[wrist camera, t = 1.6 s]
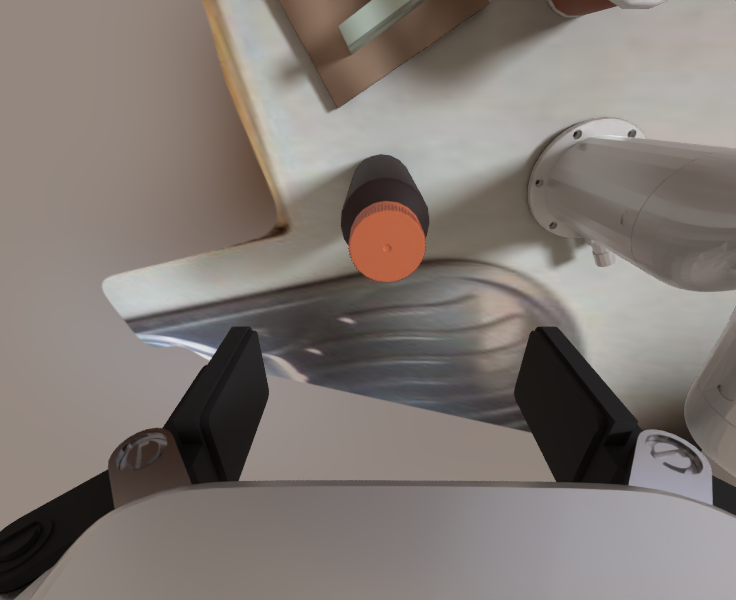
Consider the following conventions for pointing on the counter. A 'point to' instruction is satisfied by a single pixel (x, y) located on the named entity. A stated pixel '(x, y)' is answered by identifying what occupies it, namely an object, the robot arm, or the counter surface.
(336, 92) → the u rest
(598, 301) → the counter surface
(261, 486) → the robot arm
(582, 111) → the counter surface
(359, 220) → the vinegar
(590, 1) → the coffee cup
